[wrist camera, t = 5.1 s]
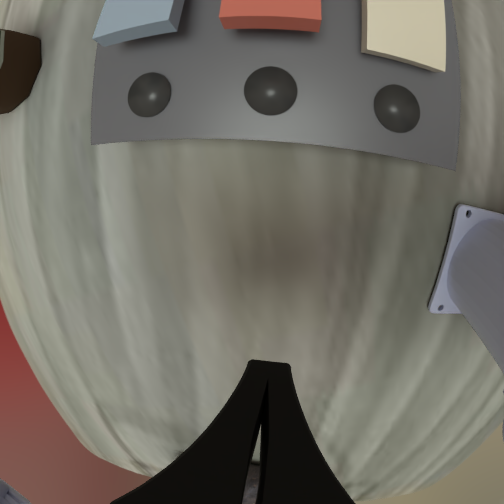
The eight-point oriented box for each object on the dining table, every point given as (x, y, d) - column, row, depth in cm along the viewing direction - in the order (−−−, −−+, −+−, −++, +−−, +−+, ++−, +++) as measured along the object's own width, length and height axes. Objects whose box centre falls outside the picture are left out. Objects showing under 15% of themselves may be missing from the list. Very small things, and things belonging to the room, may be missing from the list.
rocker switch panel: (417, -16, 9) (442, -42, 5) (422, 161, 14) (457, 171, 10) (147, -27, 11) (118, -52, 7) (128, 140, 16) (88, 145, 12)
